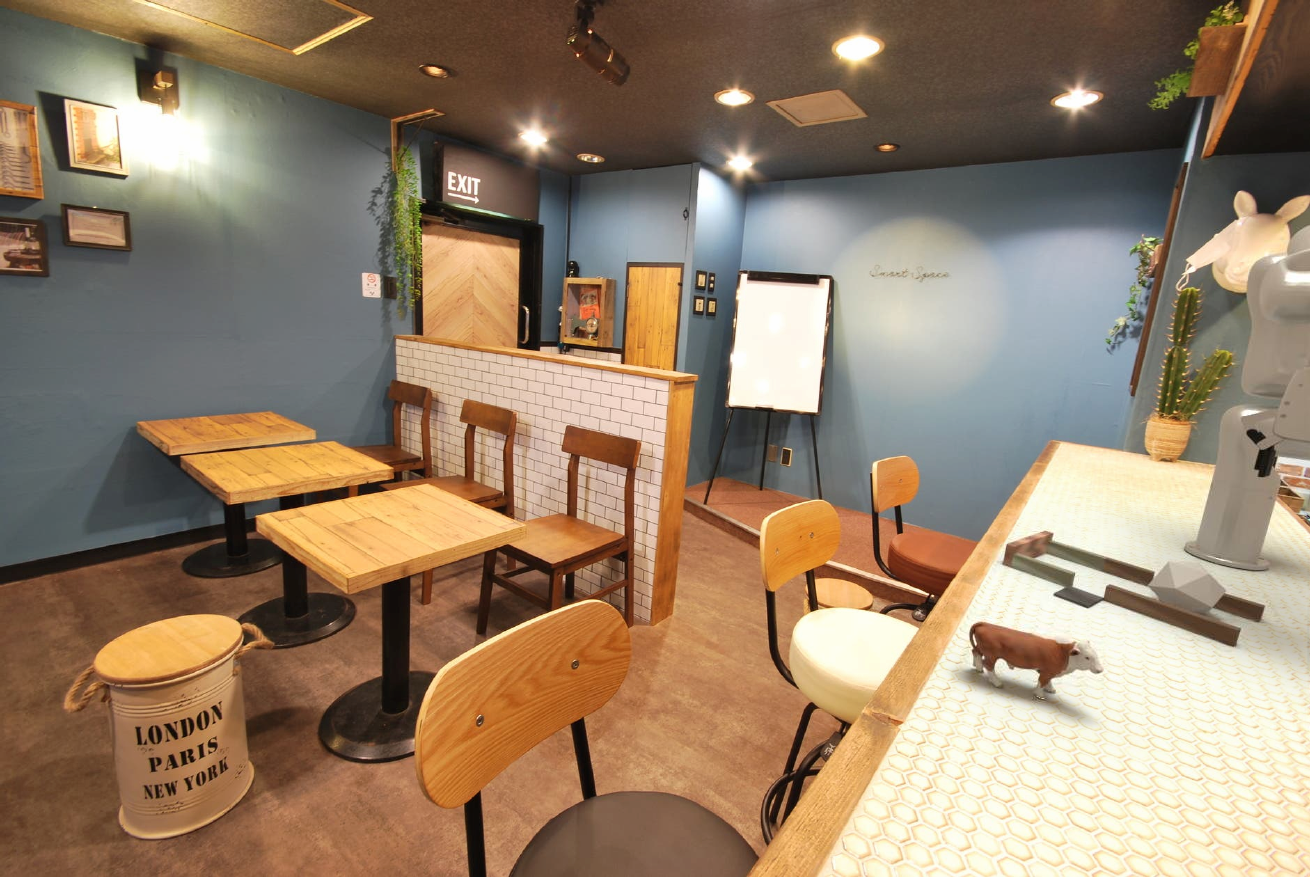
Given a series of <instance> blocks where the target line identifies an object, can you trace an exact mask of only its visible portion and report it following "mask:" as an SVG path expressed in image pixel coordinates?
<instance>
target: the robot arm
mask: <svg viewBox="0 0 1310 877" xmlns="http://www.w3.org/2000/svg"><path fill="white" fill-rule="evenodd" d="M1246 300H1247V305H1248V306H1247V307H1248V310H1249V313H1250V318H1251V333H1250V338H1249V342H1248V346H1247V350H1246V355H1245V359H1244V364H1243V368H1242V372H1241V373H1242V374H1241V380H1240V382H1241V383H1240V384H1241V385H1240V386H1241V388H1242V391H1243V392H1244V393H1245V394H1247V395H1248V396H1252V397H1256V398H1263V399H1273V400H1279V401H1280V400H1281V401H1280V404H1279V405H1270V404H1257V403H1252V404H1251V403H1250V404H1239V405H1235V406H1232V407H1231V408H1229V409H1227V410H1226V411H1225V412H1224V413H1223V415H1222V417H1221V420H1220V424H1219V437H1218V438H1219V439H1218V452H1217V457H1216V463H1215V467H1214V471H1213V476H1212V478H1211V479H1212V480H1211V483H1210V486H1209V487H1210V488H1209V491H1208V494H1207V498H1206V502H1205V505H1204V509H1203V512H1202V518H1201V522H1200V525H1199V527H1198V528H1199V529H1198V533H1197V537H1196V540H1192V541H1191V540H1190V541H1186V542H1185V543H1184V547H1183V548H1184V550H1185V551H1186V552H1187V553H1189V554H1190V555H1193V556H1195V557H1197V558H1200V559H1203V560H1206V561H1209V562H1211V563H1214V564H1219V565H1223V566H1226V567H1230V568H1231V567H1232V568H1236V569H1237V568H1238V569H1241V570H1250V571H1265V570H1268V569H1269V568H1270V567H1269V566H1270V561H1268V560H1267V559H1266V558H1265V557H1262V556H1261V554H1262V550H1263V547H1264V543H1265V540H1266V536H1267V533H1268V529H1269V525H1270V523H1271V519H1272V516H1273V512H1274V508H1275V504H1276V502H1277V497H1278V495H1279V491H1280V487H1281V481H1282V480H1281V476H1280V474H1279V472H1278V471H1277V469H1276V468H1275V467H1274V466H1273V465H1274V462H1275V459H1276V458H1275V457H1277V458H1287V459H1292V460H1293V459H1294V460H1295V459H1296V460H1300V461H1308V462H1309V461H1310V224H1309V225H1307V226H1304V227H1303V228H1301V229H1300V230H1298V231H1297V232H1296V233H1295V234H1294V235H1293V236H1292V237H1291V239H1290V240H1289V242H1288V245H1287V249H1286V252H1283V253H1274V254H1270V255H1266V256H1263V257H1262V258H1259V259H1257V261H1255V262H1254V263H1253V265H1252V266H1251V267H1250V270H1249V273H1248V275H1247V282H1246Z"/></svg>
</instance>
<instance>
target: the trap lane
mask: <svg viewBox="0 0 1310 877" xmlns="http://www.w3.org/2000/svg"><path fill="white" fill-rule="evenodd" d="M1053 537H1054V532H1051V531H1049V530H1048V531H1047V530H1043V531H1040V532H1038V533H1034V534H1031V535H1029V536H1025V537H1023V538H1020V539H1016V540H1014V541H1010V542H1008V543H1006V544H1005V545H1006V546H1005V551H1004V555H1003V556H1004V557H1003V559H1002V560H1003V562H1002V565H1004V566H1007V567H1009V568H1012V569H1016V570H1019V571H1021V572H1023V573H1026V572H1027V573H1026V574H1029V573H1031V574H1030V575H1032V576H1035V575H1036V576H1035V577H1038V578H1040V579H1044V580H1046V581H1049V582H1052V583H1055V584H1058V585H1060V586H1063V587H1064V588H1062V589H1060V590H1057V591H1055V592H1053V596H1054V597H1056V598H1060V599H1062V600H1064V601H1067V602H1071V603H1074V604H1076V605H1078V606H1082V607H1084V608H1086V609H1089V608H1092V607H1093V606H1094V605H1096V604H1098V603H1100V602H1102V601H1105V602H1108V603H1110V604H1114V605H1115V606H1119V607H1121V608H1124V609H1126V610H1127V609H1128V610H1129V611H1133V612H1136V613H1139V614H1140V615H1141V614H1142V615H1145V616H1147V617H1150V618H1152V619H1155V620H1158V621H1161V622H1164V623H1167V624H1169V625H1172V626H1175V627H1178V628H1181V629H1183V630H1186V631H1188V632H1192V633H1194V634H1197V635H1199V636H1202V637H1206V638H1207V639H1208V638H1209V639H1212V640H1214V641H1216V642H1220V643H1222V644H1226V645H1228V646H1231V647H1235V646H1236V645H1237V644H1238V641H1239V637H1240V634H1241V631H1242V628H1241V627H1238V626H1235V625H1232V624H1230V623H1227V622H1223V621H1220V620H1219V619H1218V620H1217V619H1215V618H1212V617H1208V616H1206V615H1200V614H1197V613H1194V612H1191V611H1188V610H1185V609H1182V608H1179V607H1176V606H1174V605H1171V604H1168V603H1165V602H1162V601H1161V600H1160V599H1159V600H1158V599H1155V598H1153V597H1150V596H1147V595H1144V594H1141V593H1137V592H1135V591H1132V590H1129V589H1125V588H1123V587H1120V586H1117V585H1114V584H1111V583H1110V584H1108V585H1106V586H1105V590H1104V594H1103V596H1100V595H1097V594H1094V593H1091V592H1089V591H1085V590H1082V589H1080V588H1077V587H1075V586H1074V582H1075V576H1076V572H1075V571H1072V570H1069V569H1067V568H1063V567H1060V566H1057V565H1054V564H1052V563H1049V562H1045V561H1043V560H1039V559H1036V558H1037V557H1040V556H1043V555H1045V554H1047V555H1051V556H1054V557H1057V558H1060V559H1063V560H1066V561H1069V562H1072V563H1075V564H1078V565H1081V566H1085V567H1088V568H1091V569H1093V570H1097V571H1100V572H1103V573H1106V574H1109V575H1112V576H1116V577H1119V578H1122V579H1125V580H1127V581H1131V582H1133V583H1137V584H1139V585H1143V586H1147V587H1149V586H1148V585H1149V583H1150V582H1151V581H1152V580H1153V579H1154V578H1155V573H1156V571H1153V570H1150V569H1148V568H1144V567H1141V566H1137V565H1134V564H1133V563H1128V562H1126V561H1125V562H1124V561H1122V560H1118V559H1115V558H1112V557H1108V556H1105V555H1102V554H1098V553H1095V552H1093V551H1089V550H1085V549H1082V548H1078V547H1075V546H1072V545H1069V544H1066V543H1062V542H1059V541H1057V540H1053ZM1213 608H1214V609H1217V610H1219V611H1223V612H1226V613H1230V614H1232V615H1235V616H1239V617H1241V618H1245V619H1248V620H1251V621H1253V622H1257V623H1260V622H1261V621H1262V618H1263V616H1264V611H1265V608H1266V605H1264V604H1263V603H1262V604H1261V603H1258V602H1256V601H1252V600H1250V599H1249V600H1248V599H1245V598H1243V597H1240V596H1239V597H1238V596H1236V595H1233V594H1229V593H1227V592H1225V593H1224V594H1223V596H1222V597H1221V598H1220V599H1219V600H1218V602H1217V603H1216V604H1215V605H1214V606H1213ZM1213 608H1212V609H1213Z"/></svg>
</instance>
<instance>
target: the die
mask: <svg viewBox="0 0 1310 877" xmlns="http://www.w3.org/2000/svg"><path fill="white" fill-rule="evenodd" d="M1147 587H1149V589H1150V590H1151V592H1153V593H1154V594H1155V595H1156V597H1157V598H1158V599H1159V601H1162V602H1165V603H1168V604H1171V605H1174V606H1176V607H1179V608H1182V609H1185V610H1188V611H1191V612H1194V613H1197V614H1200V615H1203V616H1206V614H1207V613H1208V612H1210V611H1211V609H1213V606H1214V605H1215V604H1216V603H1217V602H1218V600H1219V599H1220V598H1221V597H1222V596H1223V594H1224V593H1227V589H1225V588H1224V586H1222V584H1220V583H1219V582H1218V580H1217V579H1215V578H1214V577H1213V575H1212V574H1211V573H1210V572H1209V571H1207V569H1205V567H1204V566H1203V565H1202V564H1201V562H1189V561H1188V562H1186V561H1167V562H1166V563H1165V565H1164V566H1163V567H1162V568H1161V570H1159V571H1158V573H1157V574H1156V575H1154V578H1153V580H1152V581H1151V582H1150V583H1149V585H1148V586H1147Z"/></svg>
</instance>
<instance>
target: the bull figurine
mask: <svg viewBox="0 0 1310 877" xmlns="http://www.w3.org/2000/svg"><path fill="white" fill-rule="evenodd" d="M968 636H969V642H970V645H971V646H972V649H971V653H972V657H973V660H972V661H973V662H972V666H973V667H974V668H975V670H976V672H978V673H984V669H985V670H986V672H987V674H988V680H989V683H993V686H994V687H996V688H999V689H1002V688H1003V687H1004V685H1003V682H1001V680H1000V679H999V677H998V676H997V674H996V670H995V667H996V663H997V661H998V660H1000V659H1002V660H1003V661H1004V662H1005V663H1006V665H1007V666H1008V669H1009V670H1012V671H1013V670H1015V668H1016V669H1021V670H1031V671H1035V672H1036V673H1038V674H1039V676H1038V678H1037V684H1036V686H1035V688H1033V690H1032V694H1034V695H1035V696H1036V697H1037V696H1038V697H1040V698H1044V697H1045V694H1044V690H1043V689H1045V690H1046V691H1047V690H1048V691H1050V692H1056V690H1057V689H1055V687H1054V686H1053V682H1052V680H1053V679H1057V678H1062V677H1064V676H1066V675H1069V674H1072V673H1074V672H1075V671H1076V670H1079V671H1082V672H1084V671H1089V672H1090V673H1092V674H1094V675H1098V674H1102V673H1103V672H1104V667H1103V666H1102V665H1101V662H1100V660H1099V657H1098V653H1097V651H1096V650H1095V649H1094V648H1093V646H1092V645H1091V643H1090V640H1081V641H1078V642H1077V641H1075V640H1074V639H1072V638H1070V637H1068V636H1065V635H1061V634H1060V635H1050V634H1046V633H1032V632H1031V633H1030V632H1025V631H1022V630H1018V629H1017V630H1016V629H1013V628H1009V627H1006V626H1003V625H998V624H994V623H990V622H987V621H977V622H975V623H973V624H972V625H971V627H970V628H969V633H968ZM974 639H975V640H974ZM975 643H976V644H975ZM1048 691H1047V692H1048ZM1050 692H1049V693H1050ZM1056 693H1057V692H1056ZM1045 698H1046V697H1045Z"/></svg>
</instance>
